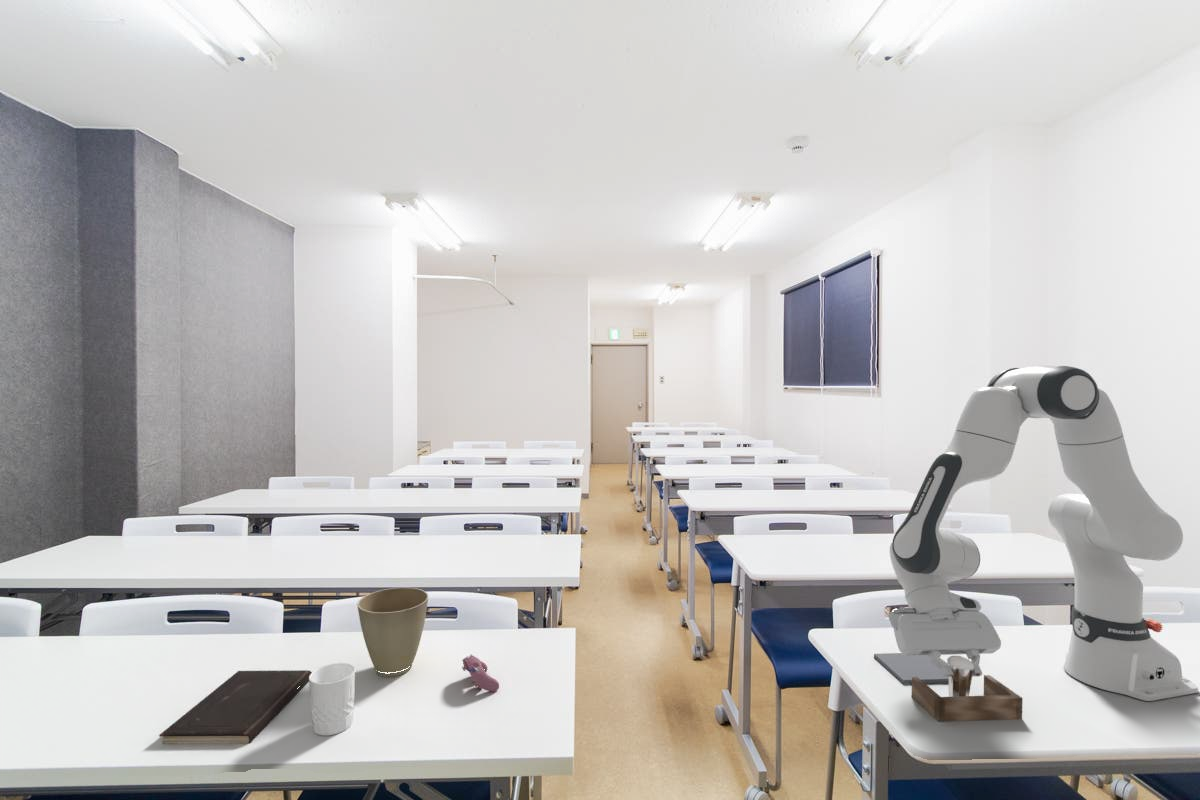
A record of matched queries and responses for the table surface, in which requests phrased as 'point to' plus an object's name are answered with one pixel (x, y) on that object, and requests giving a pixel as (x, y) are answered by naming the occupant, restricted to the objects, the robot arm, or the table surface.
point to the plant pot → (393, 627)
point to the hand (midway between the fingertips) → (963, 676)
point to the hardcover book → (238, 708)
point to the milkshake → (960, 675)
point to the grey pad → (911, 667)
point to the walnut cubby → (970, 702)
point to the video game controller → (479, 674)
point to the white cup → (332, 698)
